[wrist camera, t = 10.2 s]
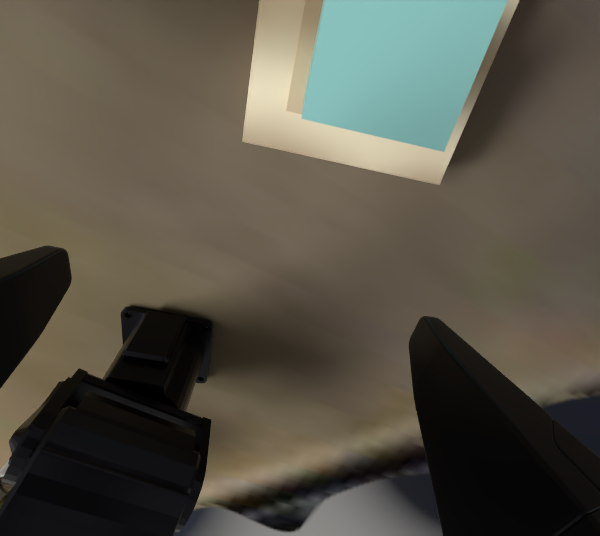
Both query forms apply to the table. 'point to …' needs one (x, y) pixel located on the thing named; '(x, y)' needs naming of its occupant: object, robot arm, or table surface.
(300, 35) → the cream square tray
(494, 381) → the robot arm
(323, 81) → the teal cube
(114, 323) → the table surface
